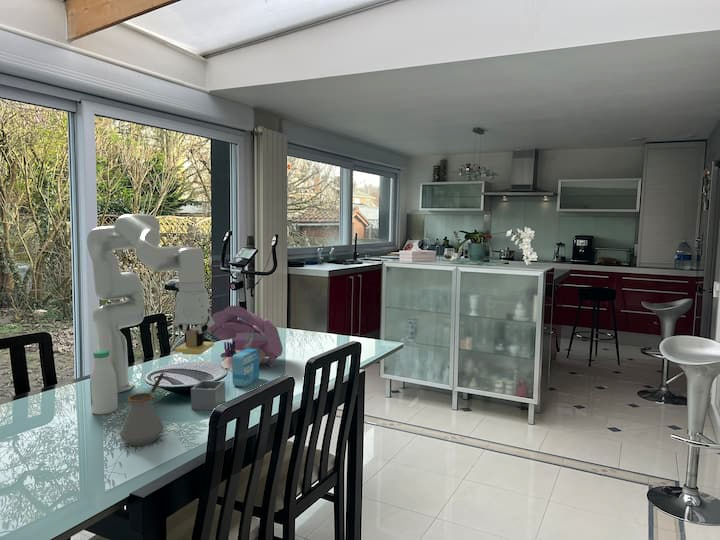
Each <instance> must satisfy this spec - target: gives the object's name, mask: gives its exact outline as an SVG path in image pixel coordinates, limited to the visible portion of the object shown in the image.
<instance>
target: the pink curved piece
mask: <svg viewBox="0 0 720 540" xmlns="http://www.w3.org/2000/svg"><path fill="white" fill-rule="evenodd" d="M211 317H212V319H213V321H214V323H215V324H214V325H212V326H210V327H208V328H207V329H206V332H207V334H210V333H211V332H213V331H214V332H213V334H212V335H213V337H216V338H217V339H218V340H222V341H225V342H223V346H224V347H223V350H224V352H223V353H221V354H220V357H221V358H222V362H221V364H220V366H221V365H223V366H224V367H226V368H227V369H228V371H232V357H233V355H235V354H237V353H239V352H241V351H243V350H245V349H247V348H248V349H257V350H258V351H259V364H260V363H261V362H263V361H264V360H265V359H266V358H267V361H266V363H267V364H268V365H269V366H270V365H271V367H273V366H274V364H275V360H276V359H278V357H281V356H282V354H283V350H284V349H283V343H282V341H281V338H280V334H279V330H278V328H277V327H276V325H274V324H273V322H272V321H270V320H269V318H266V319H263V318H261V316H259V315H257V314H256V313H253V312H251V311H249V310H247V309H246V308H244V307H242V306H239V305H228V306H226V307H225V308H224V309H223V310H220V311H218V312H215V313H213V314H211ZM226 340H227V342H226ZM228 340H231V341H228ZM227 369H226V370H227Z"/></svg>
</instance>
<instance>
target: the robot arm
mask: <svg viewBox="0 0 720 540" xmlns="http://www.w3.org/2000/svg"><path fill="white" fill-rule="evenodd" d="M160 230H161V225H160V222H159V220H158V218H156V216H155V215H152V214H148V213H131V214H130V213H127V214H122V215H121V216H119V217H118V218H117V219H116V220H115V222H114V225H106V226H105V225H103V226H98V227H95V228H93V229H91V230H90V231H89V232H88V234H87V238H86V246H87V251H88V253H89V257H90V259H91V262H92V270H93V279H94V289H95V290H94V291H95V295H96V297H97V298H98V299H99V300H101V301H113V300H120V299H124V301H118V302H112V303H106V304H102V305H100V306H98V307H97V308H95V310H94V311H93V313H92V320H93V324H94V327H95V334H96V339H97V340H96V341H97V351H99V350H108V351H109V356H110V357H109V361H110V364H111V365H112V367H113V369H114V371H115V374H116V384H117V394H119V393H122V392H126V391H128V390H131V389H133V387H134V382H133V381H132V380H130V377H129V361H128V360H129V359H128V345H127V344H128V343H127V339H126V336H125V335H124V334H123V333H122V332H121V329H123V328H128V327H134V326H137V325H139V324H142V322H143V321H144V318H145V306H144V305H145V303H144V294H143V293H144V292H143V283H142V281H141V278H140V277H139V275H138V274H137V273H135V272H132V271H124V272H123V271H122V272H121V269H120V261H119V259H118V257H117V256H116V254H115V253H114V252H113V251H114V250H115V251H118V250H120V251H121V250H134V249H135V253H136V256H137V259H138V261H139V262H140V263H141V264H143V265H144V266H145V267H146V268H148V269H150V270H151V271H154V272H169V271H177V270H178V283H175V285H174V287H175V288H176V289H178V291H177V292H176V296H175V304H174V320H173V321H172V324H173V326H175V327H178V329H180V330H181V331H182V334H184V337H183V338H184V343H186V331H188V330H189V329H191V326H194V325H197V327H196V328H198V334H197V346H201V345H202V344H203V343H204V342H205V332H206V331H207V328H208V327H210V326H212V325H214V324H215V323H214V321H213V319H212V317H211V316H212V313H211V306H210V298H209V294H208V291H207V290H206V288H205V287H206V284H205V282H206V280H205V263H204V262H205V261H204V260H205V258H204V251H203V249H202V248H201V247H189V246H187V245H173V246H172V245H171V246H170V245H169V246H159V245H160V243H161V239H162V238H161V233H160ZM186 346H187V343H186Z"/></svg>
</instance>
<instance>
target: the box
mask: <svg viewBox="0 0 720 540" xmlns="http://www.w3.org/2000/svg"><path fill="white" fill-rule="evenodd" d="M225 402H226V381H225V380H199V382H197V384H196V383H195V385H194V386H192V387H191V388H190V405H191V406H190V407H191V410H195V411H196V410H199V411H214V410H213V409H214V408H216V407H217V406H218V405H220V404H222V403H223V404H224V403H225ZM223 404H222V405H223Z"/></svg>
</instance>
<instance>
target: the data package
mask: <svg viewBox="0 0 720 540" xmlns="http://www.w3.org/2000/svg"><path fill="white" fill-rule="evenodd" d="M231 373H232V377H231V378H232V385H233V386H234V387H239V388H240V387H242V388H245V387H247V386H249V385H250V384H252V383H254V382H255V381H257V380H259V378H260V363H259V351H258V350H257V349H248V348H247V349H245V350H243V351H241V352H239V353H237V354H235V355H233V357H232V370H231Z"/></svg>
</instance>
